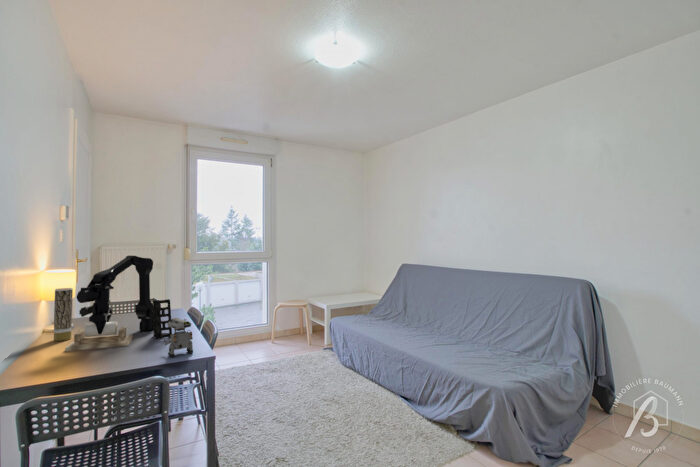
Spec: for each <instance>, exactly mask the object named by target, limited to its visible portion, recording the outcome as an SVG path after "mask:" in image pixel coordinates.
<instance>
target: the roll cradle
mask: <svg viewBox="0 0 700 467" xmlns="http://www.w3.org/2000/svg"><path fill="white" fill-rule="evenodd" d="M133 338H134V336H133V334H129V335H127V326H121V327H120V328H119V329H118V331H117V334H114V335H102V336H91V337H85V336H84V329H81V330H78V331H77V332H75V333H74V334H73V341H71V342H70V343H69V344H68V345H66V347H65V348H64V352H73V351H74V352H75V351H82V350H83V351H84V350H93V349H95V350H97V349H105V348H115V347H126V346H129V345H130V343H131V341H132V340H133Z"/></svg>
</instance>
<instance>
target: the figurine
mask: <svg viewBox="0 0 700 467" xmlns="http://www.w3.org/2000/svg"><path fill="white" fill-rule="evenodd" d="M166 325H167V327H171V328H172V329H173V330H174V332H173V333H172V334H171V335H170V337H169V338H170V339H168V340H167V341H166V340H165V338H163V342H164V346H168V345H169V347H168V353H167V355H168V357H169V356H170V358H171V357H173V358H174V357H175V356H176V355H175V350H176V351H177V350H183V349H186V352H187V351H188V352H187V353H188V354H190V353H191V354H193V353H194V348H193V341H192V340H193V331H192V330H191V329H187V331H186V328H191V326H192V323H191V322H190V321H188V320H187V318H184V319H181V318H178V317H173V318H171V320H170V321H169V322H168V323H166Z"/></svg>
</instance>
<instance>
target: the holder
mask: <svg viewBox="0 0 700 467" xmlns="http://www.w3.org/2000/svg"><path fill="white" fill-rule="evenodd" d="M152 304H153V316H154V319H153V329H154V330H153V337H154V338H156V339H158V338H160V339H162V338H163V339H165V338H171V337H170V335H171V334H173V330H172V329H173V328H171V327H168V326H167V327H166V325H167V323H168V322H169V321H170V320H171V319H172V314H171V312H172V311H171V309H172V308H171V300H170V299H161V300H159V299H155V297H154V298H152ZM161 304H167V306H163V307H161ZM165 311H167V313H165ZM164 317H165V318H166V317H168V319H167V320H162V318H164ZM162 331H163V332H164V331H168V332H164V333H163V332H162Z"/></svg>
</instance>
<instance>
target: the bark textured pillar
mask: <svg viewBox="0 0 700 467" xmlns="http://www.w3.org/2000/svg"><path fill="white" fill-rule="evenodd" d="M53 309H54V311H53V312H54V314H53V316H54V317H53V322H54V323H53V341H54V342H65V341H68V340H70V339H72V329H73V328H72V327H73V326H72V323H73V321H72V320H73V288H72V287H62V288H55V289H54V308H53Z"/></svg>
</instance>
